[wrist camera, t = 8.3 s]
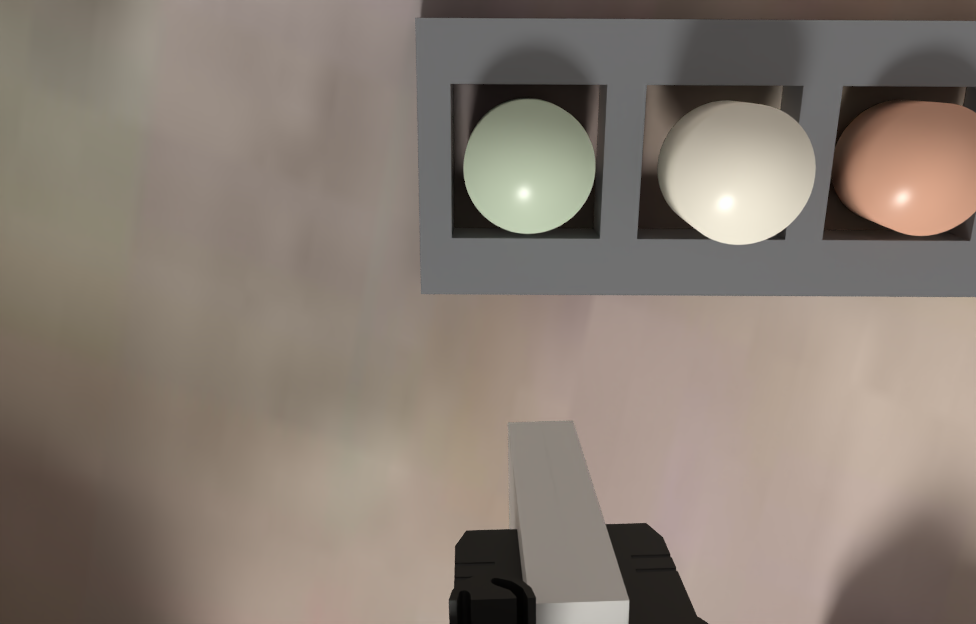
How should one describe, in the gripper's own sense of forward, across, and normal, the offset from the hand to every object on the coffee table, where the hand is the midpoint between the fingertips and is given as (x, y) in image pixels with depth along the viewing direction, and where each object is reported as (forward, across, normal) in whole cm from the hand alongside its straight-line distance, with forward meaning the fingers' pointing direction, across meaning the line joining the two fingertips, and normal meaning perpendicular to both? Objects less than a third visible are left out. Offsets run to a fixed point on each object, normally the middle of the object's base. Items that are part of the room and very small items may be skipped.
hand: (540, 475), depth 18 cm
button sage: (+14, +1, +6) cm, 15 cm away
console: (+15, +8, +6) cm, 17 cm away
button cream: (+12, +8, +6) cm, 15 cm away
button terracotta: (+14, +15, +6) cm, 21 cm away
